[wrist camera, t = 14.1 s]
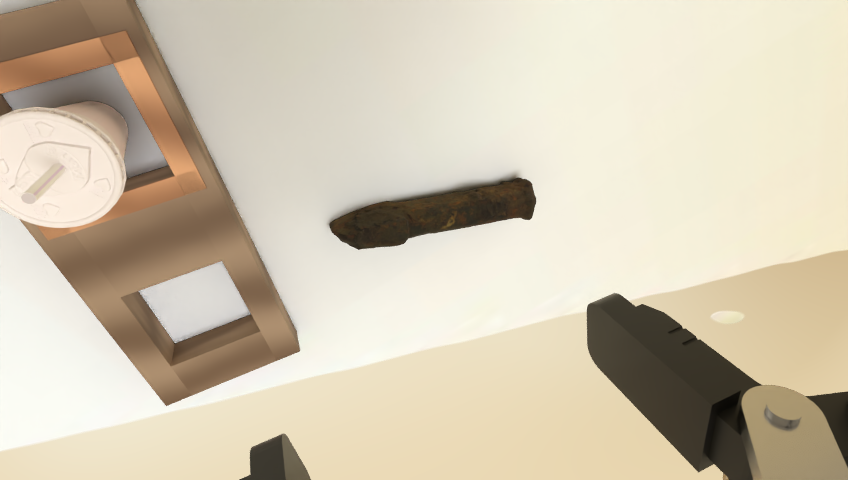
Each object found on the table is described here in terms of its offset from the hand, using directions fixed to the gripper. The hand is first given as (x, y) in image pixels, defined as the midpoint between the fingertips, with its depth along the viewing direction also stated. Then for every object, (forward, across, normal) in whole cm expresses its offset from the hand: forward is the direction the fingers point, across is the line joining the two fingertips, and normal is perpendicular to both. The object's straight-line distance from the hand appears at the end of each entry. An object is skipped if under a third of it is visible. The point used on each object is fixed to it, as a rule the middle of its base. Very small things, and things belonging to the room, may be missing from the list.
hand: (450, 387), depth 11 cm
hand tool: (+30, -8, +12) cm, 34 cm away
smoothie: (+30, +14, -3) cm, 33 cm away
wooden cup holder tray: (+30, +14, +4) cm, 33 cm away
